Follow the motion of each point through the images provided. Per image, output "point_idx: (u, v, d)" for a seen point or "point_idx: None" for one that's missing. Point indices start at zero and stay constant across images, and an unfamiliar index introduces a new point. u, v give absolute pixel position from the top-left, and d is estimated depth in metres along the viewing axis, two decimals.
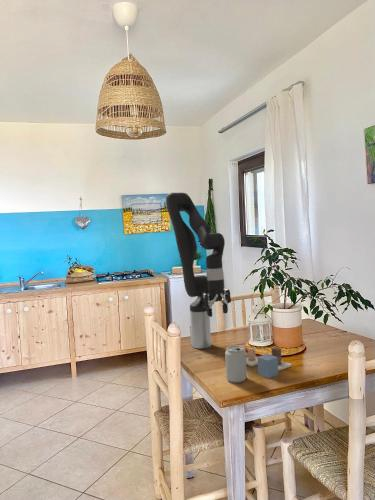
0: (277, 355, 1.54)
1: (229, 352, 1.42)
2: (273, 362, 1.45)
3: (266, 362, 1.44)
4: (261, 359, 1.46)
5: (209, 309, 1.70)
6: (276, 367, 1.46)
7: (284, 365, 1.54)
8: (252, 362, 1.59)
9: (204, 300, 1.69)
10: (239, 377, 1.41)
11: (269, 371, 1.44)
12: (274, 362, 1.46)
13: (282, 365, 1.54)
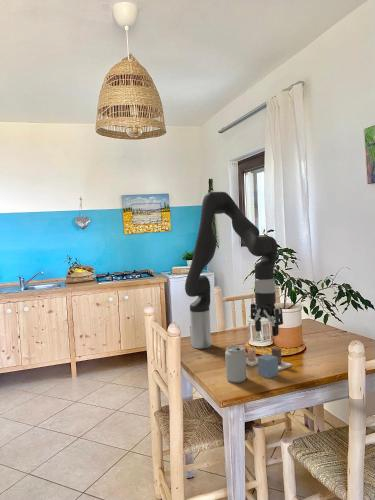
0: (277, 355, 1.54)
1: (229, 352, 1.42)
2: (273, 362, 1.45)
3: (266, 362, 1.44)
4: (261, 359, 1.46)
5: None
6: (276, 367, 1.46)
7: (284, 365, 1.54)
8: (252, 362, 1.59)
9: (280, 316, 1.40)
10: (239, 377, 1.41)
11: (269, 371, 1.44)
12: (274, 362, 1.46)
13: (282, 365, 1.54)
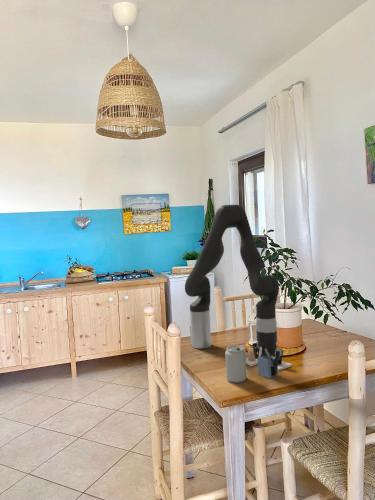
0: None
1: (229, 352, 1.42)
2: (273, 362, 1.45)
3: (266, 362, 1.44)
4: (261, 359, 1.46)
5: None
6: None
7: (284, 365, 1.54)
8: (252, 362, 1.59)
9: (280, 358, 1.42)
10: (239, 377, 1.41)
11: (269, 371, 1.44)
12: None
13: (282, 365, 1.54)
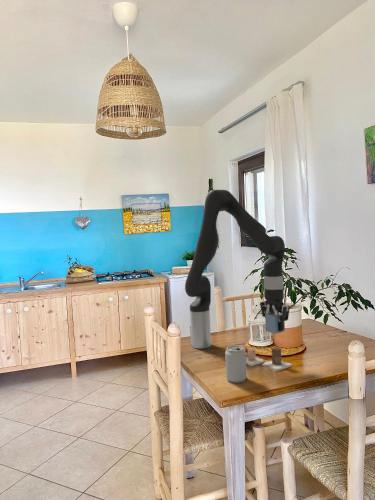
0: (277, 355, 1.54)
1: (229, 352, 1.42)
2: None
3: (273, 318, 1.51)
4: (268, 316, 1.54)
5: None
6: None
7: (284, 365, 1.54)
8: (252, 362, 1.59)
9: (287, 313, 1.49)
10: (239, 377, 1.41)
11: (276, 327, 1.51)
12: None
13: (282, 365, 1.54)
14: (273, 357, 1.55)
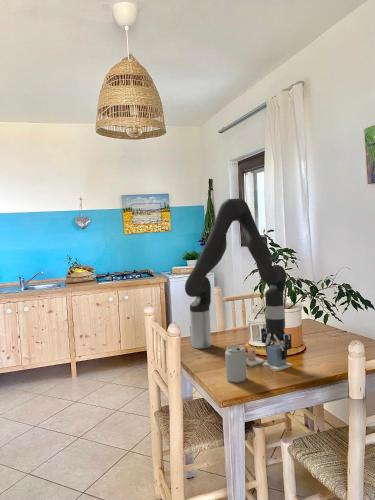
0: None
1: (229, 352, 1.42)
2: None
3: (275, 351, 1.52)
4: (270, 348, 1.55)
5: None
6: None
7: (284, 365, 1.54)
8: (252, 362, 1.59)
9: (289, 342, 1.50)
10: (239, 377, 1.41)
11: (278, 360, 1.52)
12: None
13: (282, 365, 1.54)
14: None
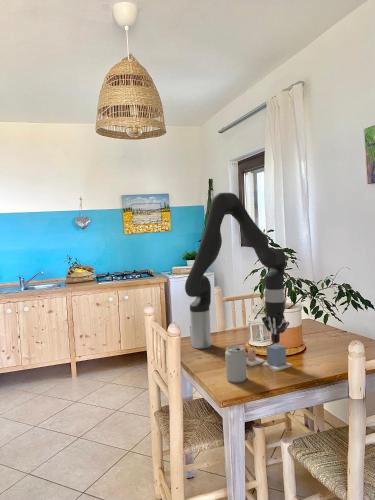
0: None
1: (229, 352, 1.42)
2: (281, 351, 1.54)
3: (275, 351, 1.52)
4: (270, 348, 1.55)
5: None
6: (284, 356, 1.55)
7: (284, 365, 1.54)
8: (252, 362, 1.59)
9: (284, 328, 1.51)
10: (239, 377, 1.41)
11: (278, 360, 1.52)
12: (282, 351, 1.54)
13: (282, 365, 1.54)
14: None
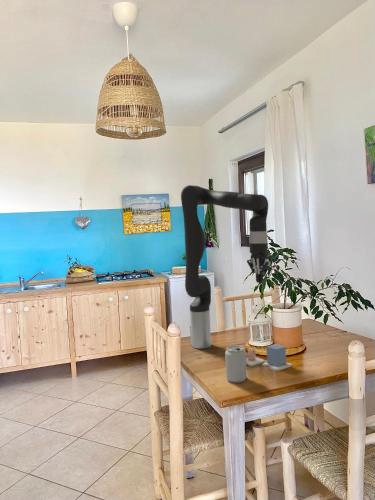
0: None
1: (229, 352, 1.42)
2: (281, 351, 1.54)
3: (275, 351, 1.52)
4: (270, 348, 1.55)
5: None
6: (284, 356, 1.55)
7: (284, 365, 1.54)
8: (252, 362, 1.59)
9: (267, 268, 1.63)
10: (239, 377, 1.41)
11: (278, 360, 1.52)
12: (282, 351, 1.54)
13: (282, 365, 1.54)
14: None
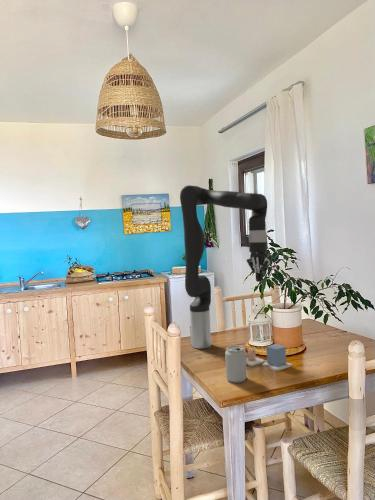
0: None
1: (229, 352, 1.42)
2: (281, 351, 1.54)
3: (275, 351, 1.52)
4: (270, 348, 1.55)
5: None
6: (284, 356, 1.55)
7: (284, 365, 1.54)
8: (252, 362, 1.59)
9: (267, 266, 1.63)
10: (239, 377, 1.41)
11: (278, 360, 1.52)
12: (282, 351, 1.54)
13: (282, 365, 1.54)
14: None
